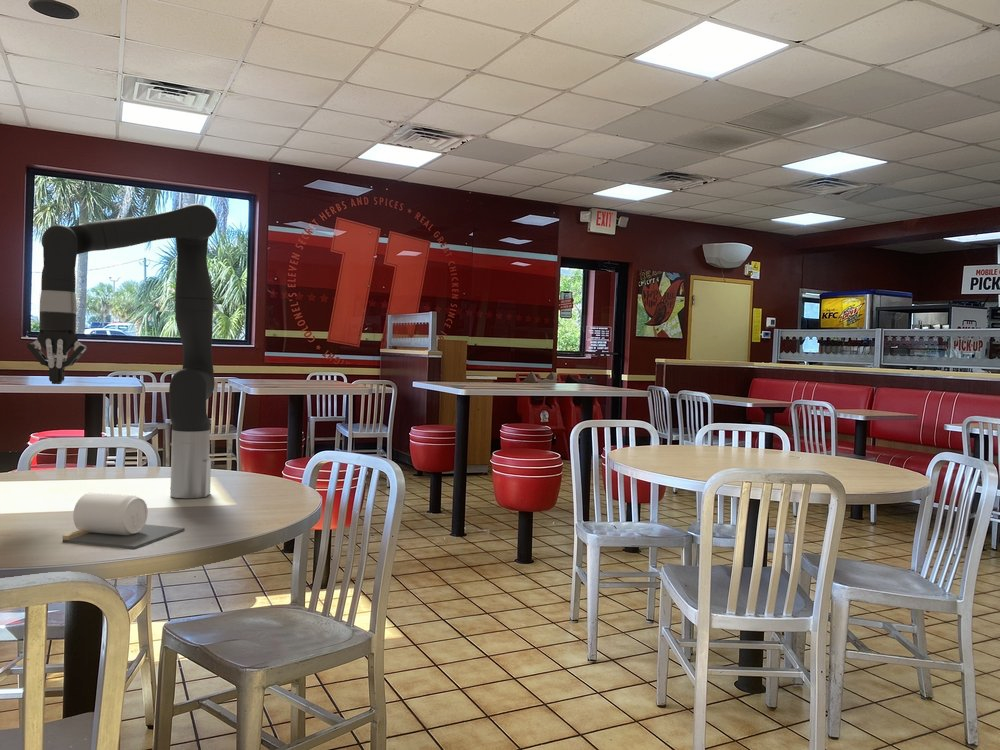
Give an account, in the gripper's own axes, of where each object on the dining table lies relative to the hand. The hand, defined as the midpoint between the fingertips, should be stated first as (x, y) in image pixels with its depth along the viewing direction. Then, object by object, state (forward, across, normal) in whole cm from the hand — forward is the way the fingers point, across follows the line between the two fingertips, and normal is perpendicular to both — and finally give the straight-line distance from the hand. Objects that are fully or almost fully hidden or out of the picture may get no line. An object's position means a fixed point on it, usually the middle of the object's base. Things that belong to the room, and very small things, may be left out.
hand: (56, 383), depth 181 cm
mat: (+29, +24, -30) cm, 49 cm away
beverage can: (+25, +16, -27) cm, 40 cm away
